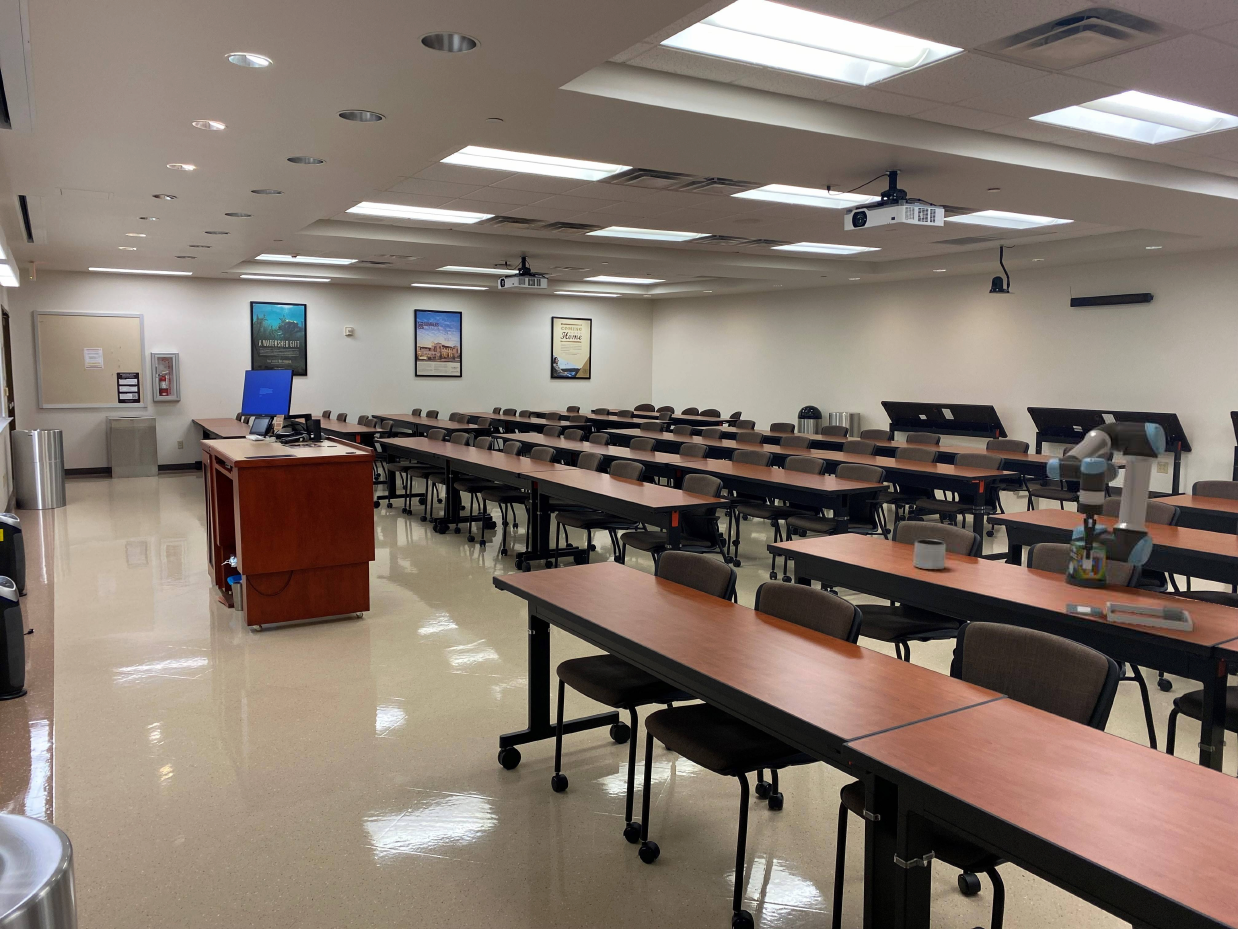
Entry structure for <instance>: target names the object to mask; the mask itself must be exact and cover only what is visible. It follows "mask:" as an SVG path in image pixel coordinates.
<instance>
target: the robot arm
mask: <svg viewBox="0 0 1238 929" xmlns="http://www.w3.org/2000/svg"><path fill="white" fill-rule="evenodd" d="M1165 451H1166V434H1165V431H1164V429H1163V427H1162V426H1161V425H1159V424H1158V423H1150V422H1130V421H1127V422H1124V421H1111V422H1108V423H1104V424H1101V425H1099V426H1097V427H1095V428H1092V429H1091V430H1090V431H1088V433H1086V435H1085V436H1084V439H1083V440H1082V441H1081V442H1079V443H1078V444H1077V445H1076V446H1074V448H1073V449H1071V450H1070V451H1069V452H1067V454H1065V455H1064V456H1063V457H1060V458H1059V457H1052V458H1050V459H1049V460H1048V461H1047V463H1046V464H1047V465H1046V475H1047V476H1048V478H1050V479H1057V480H1065V481H1077V482H1078V481H1079V482H1080V484H1079V485H1080V486H1079V492H1077V495H1078V496H1079V498H1078V499H1079V501H1080V502H1079V503H1078V513H1079V514H1080V515H1085V517H1083V525H1079V526H1078V525H1077V526H1076V527H1075V528H1074V529H1073V531H1072V532H1073V533H1072V537H1071V539H1072V540H1071V541H1085V547H1082V550H1084V554H1083V568H1086V569H1092V555H1093V542H1097V543H1100V544H1102V545H1104V546H1106V561H1108V562H1113V563H1121V564H1126V565H1129V566H1130V565H1134V566H1142V565H1144V564H1145V563H1146V562H1147V561H1148V560H1149V557H1150V556H1151V553H1152V550H1153V544H1154V543H1153V540H1154V539H1153V537H1152V536H1151V535H1149V530H1148V528H1146V526H1145V522H1146V514H1147V507H1148V499H1149V493H1150V491H1149V490H1150V484H1151V477H1152V470H1153V465H1154V463H1155V462H1156V461H1158V459H1159V456H1162V455H1163V454H1164V453H1165ZM1107 452H1119V453H1121V452H1122V458H1123V459H1124V460H1125V468H1124V474H1123V483H1122V492H1121V499H1120V507H1119V512H1118V513H1119V515H1118V516H1119V517H1118V521H1117V523H1116V524H1114V525H1113V527H1112V530H1108V526H1106V525H1102V524H1097V518H1095V516H1102V515H1103V514H1104V504H1103V503H1105V496H1106V495H1105V493H1106V491H1105V489H1106V484H1109V483H1112V482H1113V481H1116V479H1117V478H1118V477H1119V474H1120V469H1119V466H1118V465H1117V464H1116V463H1114V462H1113V461H1110V460H1106V459H1105V458H1099V457H1098V456H1099V455H1102V454H1104V453H1107ZM1083 533H1084V534H1085V540H1084V536H1083ZM1087 545H1088V546H1087ZM1064 575H1065V576H1064V581H1065V583H1067V584H1069V585H1073V586H1076V587H1082V588H1088V589H1089V588H1090V589H1101V588H1102V589H1103V588H1107V587H1108V586H1109V582H1110V581H1109V577H1108V574H1107V570H1106V568H1105V579H1096V578H1076V577H1075V576H1074V575H1072V574H1071V573H1070V572H1069V567H1068V569H1067V570H1066V572H1065V574H1064Z"/></svg>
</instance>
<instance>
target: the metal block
mask: <svg viewBox="0 0 1238 929" xmlns="http://www.w3.org/2000/svg"><path fill="white" fill-rule="evenodd" d="M1162 608H1163V616H1161V617H1162V618H1161V619H1162V620H1170V621H1178V622H1183V619H1182V612H1183V611H1184V610H1183V609H1182V607H1179V606H1177V607H1176V606H1169V605H1163V607H1162Z"/></svg>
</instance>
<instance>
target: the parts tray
mask: <svg viewBox="0 0 1238 929" xmlns="http://www.w3.org/2000/svg"><path fill="white" fill-rule="evenodd" d="M1105 605H1106V607H1105V610H1106V620H1108V621H1107V622H1113V621H1116V622H1115V623H1121V622H1126V623H1125V624H1128V623H1134V624H1133V625H1136V624H1141V625H1140V626H1144V625H1146V626H1147V627H1152V626H1155V628H1160V627H1162V628H1163V629H1168V630H1169V629H1170V630H1179V631H1184V632H1193V626H1194V623H1193V620H1192V619H1191V617H1190V614H1189V612H1188V610H1187V611H1186V610H1182V611H1183V612H1182V620H1183V621H1182V622H1178V621H1170V620H1162V618H1161V619H1160V618H1153V617H1144V616H1135V615H1127V614H1121V613H1120V614H1118V613H1112V611H1117V612H1123V611H1124V613H1131V612H1134V613H1133V614H1140V613H1142V615H1148V616H1149V615H1150V616H1156V617H1157V616H1158V617H1163V607H1153V606H1147V605H1146V606H1145V605H1137V604H1136V605H1135V604H1128V603H1118V602H1111V601H1106V604H1105ZM1162 628H1161V629H1162Z"/></svg>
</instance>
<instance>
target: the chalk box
mask: <svg viewBox="0 0 1238 929" xmlns="http://www.w3.org/2000/svg"><path fill="white" fill-rule="evenodd" d="M1083 536H1084V540H1085V534H1084V533H1083ZM1069 542H1070V544H1069V547H1070V548H1069V564H1068V566H1069V567H1068V568H1069V572H1070V573H1071V574H1072V575H1074V576H1075V577H1076V578H1096V579H1105V569H1106V561H1107V560H1106V546H1104V545H1102V544H1100V543H1097V542H1093V555H1092V569H1086V568H1083V554H1084V550H1082V547H1085V541H1072V540H1070V541H1069ZM1087 546H1088V545H1087Z"/></svg>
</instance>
